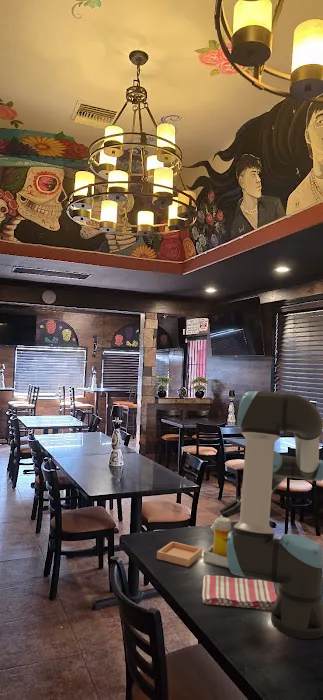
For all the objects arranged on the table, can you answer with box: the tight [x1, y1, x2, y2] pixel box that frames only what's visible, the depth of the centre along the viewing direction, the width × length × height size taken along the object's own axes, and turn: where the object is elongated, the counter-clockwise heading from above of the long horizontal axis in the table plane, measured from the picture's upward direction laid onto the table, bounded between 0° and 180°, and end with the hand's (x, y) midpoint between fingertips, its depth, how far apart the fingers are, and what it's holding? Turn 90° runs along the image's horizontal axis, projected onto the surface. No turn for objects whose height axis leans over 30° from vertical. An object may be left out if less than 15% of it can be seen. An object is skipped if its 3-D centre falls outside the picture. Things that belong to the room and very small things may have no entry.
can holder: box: [202, 544, 229, 569], centre depth 177 cm, size 10×10×4 cm
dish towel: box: [201, 574, 278, 611], centre depth 151 cm, size 17×23×4 cm
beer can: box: [212, 516, 232, 556], centre depth 177 cm, size 6×6×15 cm
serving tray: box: [156, 541, 203, 568], centre depth 178 cm, size 13×13×2 cm
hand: (221, 536), depth 177 cm, fingers open, 13 cm apart
